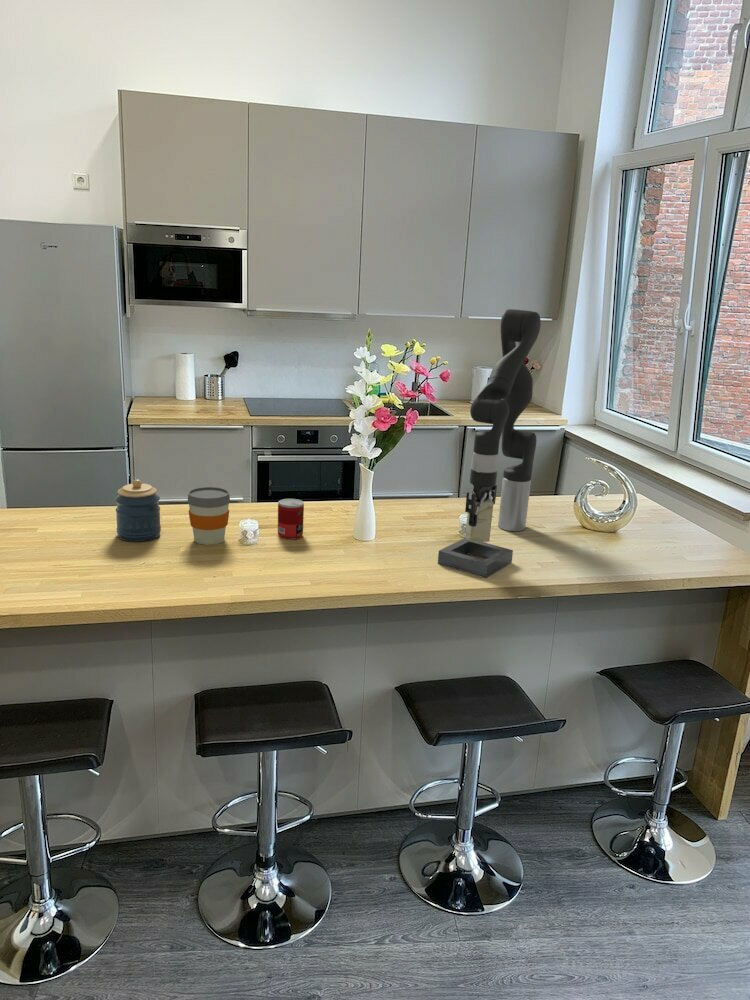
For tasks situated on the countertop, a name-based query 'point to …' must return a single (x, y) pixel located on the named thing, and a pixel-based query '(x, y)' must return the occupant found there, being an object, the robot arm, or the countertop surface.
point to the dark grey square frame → (483, 568)
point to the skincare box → (481, 524)
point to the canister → (138, 512)
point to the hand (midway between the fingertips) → (478, 522)
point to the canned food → (290, 518)
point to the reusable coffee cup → (208, 514)
